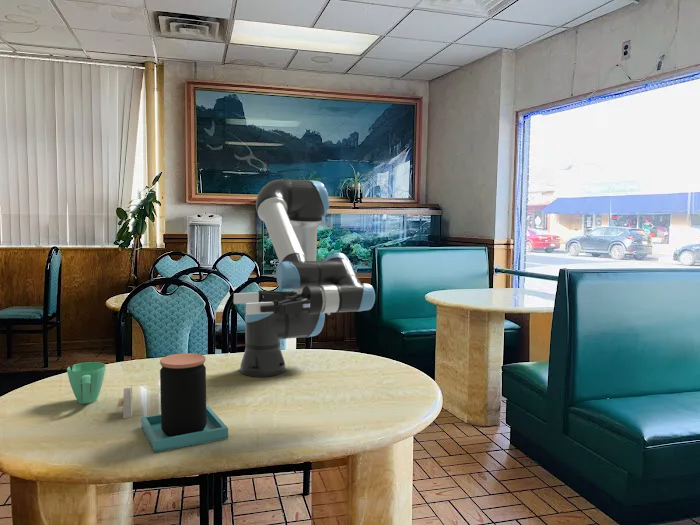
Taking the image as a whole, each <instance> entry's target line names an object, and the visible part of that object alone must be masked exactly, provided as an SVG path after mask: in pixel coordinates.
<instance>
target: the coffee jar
mask: <svg viewBox="0 0 700 525" xmlns="http://www.w3.org/2000/svg"><path fill="white" fill-rule="evenodd" d="M205 362H206V356H205V355H203V354H199V353H195V352H194V353H193V352H192V353H191V352H187V353H185V352H184V353H183V352H182V353H175V354H170V355H165V356H164V357H161V359H159V364H160V367H161V368H160V371H159V383H160V386H159V387H160V414H161V428H162V431H163V432H164V433H165V435H167V436H169V437H173V436H178V435H183V434H189V433H194V432H200V431H203V430H204V428H205V426H206V423H207V416H206V406H207V374H206V373H207V369H206V366H205Z"/></svg>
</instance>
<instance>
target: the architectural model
mask: <svg viewBox="0 0 700 525" xmlns="http://www.w3.org/2000/svg"><path fill="white" fill-rule="evenodd" d="M133 408H134V407H133V385H130V387H124V388H123V397H121V398H118V401H117V404H116V409H122V414H123V415H122V417H123V418H124V419H131V418H132V415H133V411H132V410H133ZM130 417H131V418H130ZM123 418H122V419H123Z"/></svg>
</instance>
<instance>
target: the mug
mask: <svg viewBox="0 0 700 525" xmlns="http://www.w3.org/2000/svg"><path fill="white" fill-rule="evenodd" d="M66 372H67V377H68V381H69V384H70V387H71V389H72V392H73V395H74V397H75V399H76V401H77V403H78V404H80V405H88V404H93V403H96V402H97V400H98V398H99V395H100V393H101V391H102V390H101V389H102V386H103V383H104V378H105V373H106V364H105V363H103V362H98V361H87V362H79V363H76V364H72V366H71V367H70V366H68V367H67V368H66ZM92 402H93V403H92Z"/></svg>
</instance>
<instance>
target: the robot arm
mask: <svg viewBox="0 0 700 525" xmlns="http://www.w3.org/2000/svg"><path fill="white" fill-rule="evenodd" d="M255 209H256V213H257V216H258V218H259V219H260V220H261V221H262V222H263V223H264V225H265V228H266V231H267V233H268V235H269V237H270V241H271V242H272V243H271V244H272V246H273V249H274V251H275V254H276V257H277V259H278V262H279V263H278V264H277V265H276V268H275V269H276V270H275V277H276V282H277V285H278V287H279V288H280V289H283V290H284V289H285V290H288V289H289V291H281V290H279V291H278V290H275V291H274V290H258V292H257V291H256V292H238V293H237V292H236V293H235V292H234V293H233V305H241V304H244V305H245V315H244V316H245V317H244V322H245V324H244V326H245V336H244V337H245V349H244V352H243V356H242V358H241V362H240V367H239V368H240V369H239V370H240V373H241V374H242V375H245V376H248V377H258V378H259V377H260V378H261V377H262V378H266V377H274V376H278V375H280V374H283V373H285V371H286V361H285V358H284V356H283V353H282V350H281V340H284V339H285V340H287V339H297V338H310V337H316V336H318V335H319V334H320V333H321V332H322V330H323V328H324V325H325V318H326V317H325V314H326V315H328V316H330V315H331V314H332V313H349V312H352V313H353V312H355V313H356V312H358V313H359V312H363V311H370V310H371V309H372V308H373V307H374V304H375V303H376V302H375V301H376V292H375V289H374V287H373V285H371V284H370V283H364V282H362V283H361V280H360V279H359V278H358V276H357V274H356V272H355V269H354V267H353V264H352V262H351V260H349V258H348V256H347V255H346V254H345V253H342V252H333V253H332V254H328V255H327V256H326V257H325V258H324V260H317V250H318V249H317V245H318V244H317V242H318V241H317V240H318V226H319V225H320V224H321V223H322V222H323V217H324V216H326V215H328V213H329V209H330V198H329V193H328V190H327V188H326V187H325V184H324V183H322V182H321V181H319V180H312V179H311V180H310V179H274V180H271V181H270V182H268V183H267V184H265V185H264V186H263V187H262V188H261V190H260V191H259V192H258V194H257V198H256V200H255Z"/></svg>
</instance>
